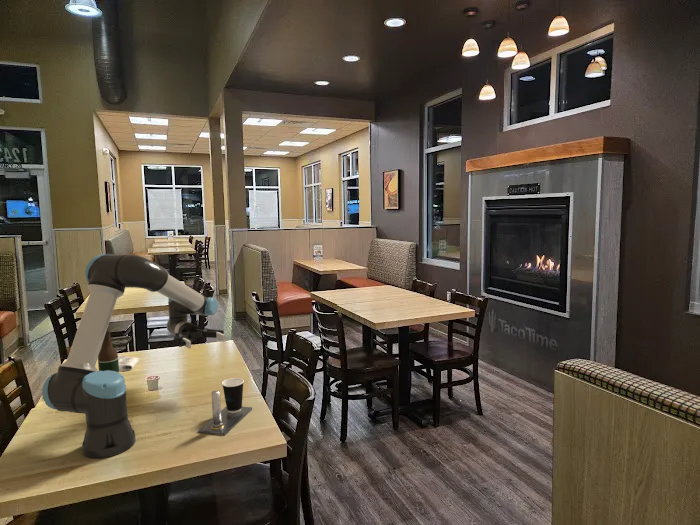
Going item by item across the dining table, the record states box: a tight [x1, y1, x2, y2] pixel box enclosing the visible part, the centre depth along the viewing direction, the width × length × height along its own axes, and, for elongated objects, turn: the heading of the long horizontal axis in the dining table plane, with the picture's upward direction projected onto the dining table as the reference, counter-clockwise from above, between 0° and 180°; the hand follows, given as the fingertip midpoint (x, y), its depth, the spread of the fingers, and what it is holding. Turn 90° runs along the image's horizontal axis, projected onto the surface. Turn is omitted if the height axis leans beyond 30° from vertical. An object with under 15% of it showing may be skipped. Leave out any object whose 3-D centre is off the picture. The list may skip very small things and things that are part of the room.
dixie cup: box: [221, 377, 245, 413], centre depth 168 cm, size 8×8×11 cm
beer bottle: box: [97, 328, 120, 373], centre depth 199 cm, size 8×8×24 cm
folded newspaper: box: [118, 355, 140, 373], centre depth 220 cm, size 3×18×15 cm
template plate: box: [197, 405, 253, 436], centre depth 163 cm, size 20×10×1 cm, turn 166°
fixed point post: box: [210, 390, 223, 428], centre depth 156 cm, size 4×4×12 cm
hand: (207, 341), depth 176 cm, fingers open, 13 cm apart
